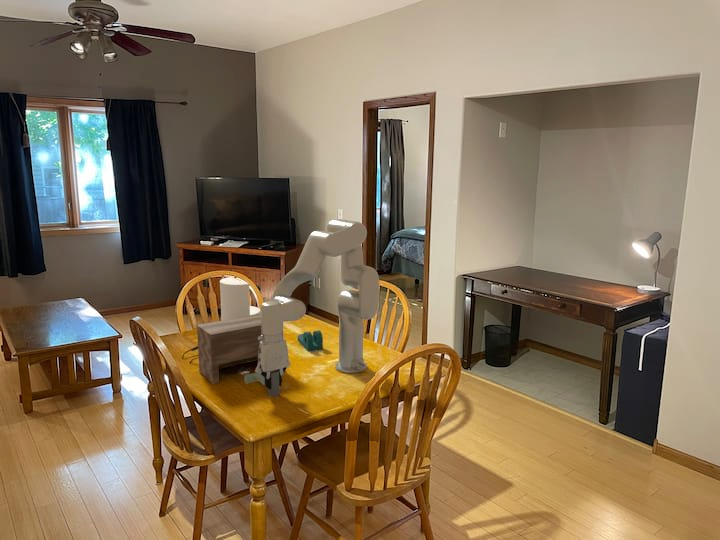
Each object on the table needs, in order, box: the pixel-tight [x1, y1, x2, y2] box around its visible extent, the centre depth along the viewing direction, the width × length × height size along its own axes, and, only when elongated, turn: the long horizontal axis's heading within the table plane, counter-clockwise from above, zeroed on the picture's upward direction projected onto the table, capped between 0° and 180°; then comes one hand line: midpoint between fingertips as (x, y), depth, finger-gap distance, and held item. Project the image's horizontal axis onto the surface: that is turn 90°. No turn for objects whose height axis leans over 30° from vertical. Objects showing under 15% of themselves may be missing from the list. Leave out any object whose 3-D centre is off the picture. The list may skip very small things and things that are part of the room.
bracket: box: [297, 330, 324, 353], centre depth 241 cm, size 18×7×8 cm, turn 24°
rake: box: [243, 370, 281, 398], centre depth 195 cm, size 17×8×9 cm, turn 36°
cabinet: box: [196, 313, 261, 385], centre depth 210 cm, size 14×28×19 cm, turn 126°
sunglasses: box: [182, 345, 199, 364], centre depth 224 cm, size 10×12×5 cm
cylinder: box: [219, 276, 261, 321], centre depth 243 cm, size 17×17×28 cm
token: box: [236, 367, 251, 376], centre depth 210 cm, size 5×5×1 cm
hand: (273, 386), depth 190 cm, fingers open, 3 cm apart
